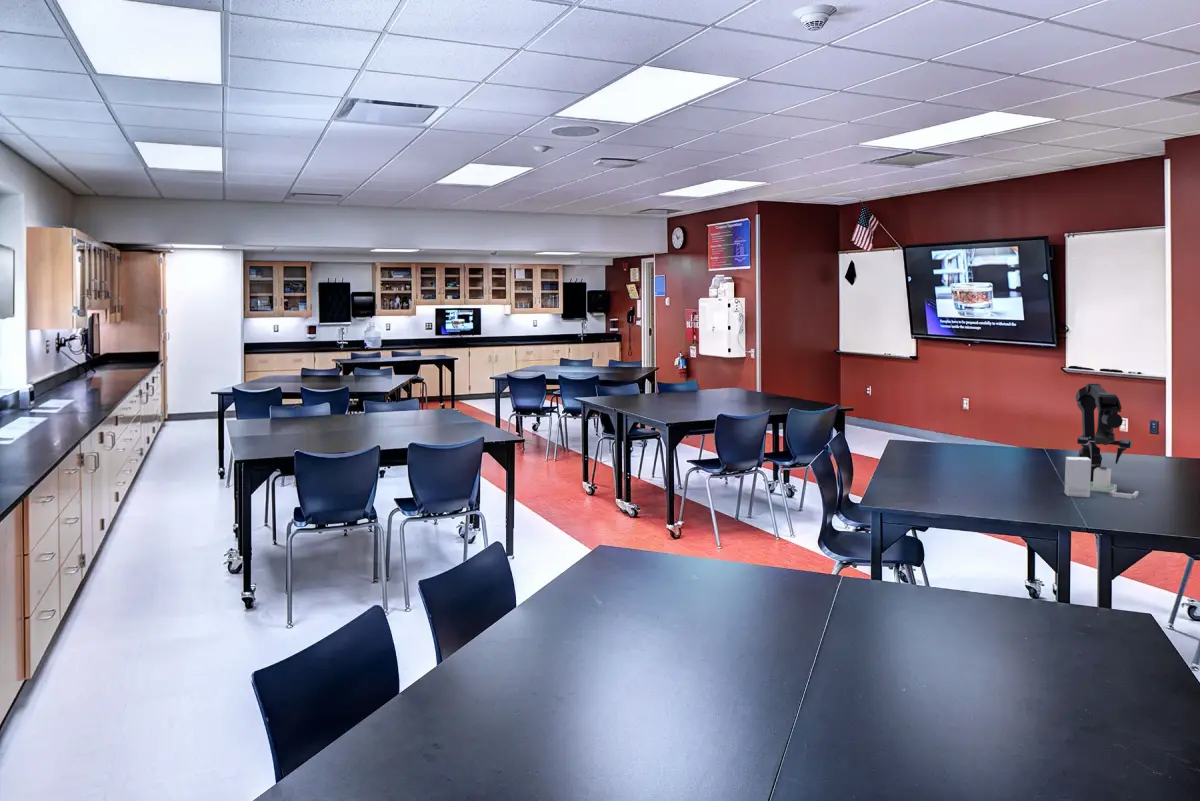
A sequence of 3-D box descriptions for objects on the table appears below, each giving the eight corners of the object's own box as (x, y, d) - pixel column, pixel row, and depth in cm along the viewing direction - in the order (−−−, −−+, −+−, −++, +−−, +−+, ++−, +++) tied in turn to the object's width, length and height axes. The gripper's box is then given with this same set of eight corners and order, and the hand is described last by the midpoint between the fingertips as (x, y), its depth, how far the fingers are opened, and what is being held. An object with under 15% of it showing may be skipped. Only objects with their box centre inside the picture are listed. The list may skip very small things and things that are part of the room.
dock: (1109, 497, 332) (1109, 492, 332) (1113, 493, 339) (1113, 488, 339) (1134, 500, 327) (1134, 495, 326) (1138, 496, 334) (1138, 491, 334)
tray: (1085, 491, 343) (1086, 486, 343) (1091, 486, 352) (1091, 481, 351) (1111, 494, 337) (1112, 489, 337) (1116, 489, 346) (1117, 484, 346)
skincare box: (1086, 495, 336) (1089, 457, 334) (1090, 499, 330) (1092, 459, 328) (1063, 494, 338) (1065, 455, 337) (1066, 497, 332) (1068, 458, 331)
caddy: (1092, 489, 343) (1093, 468, 342) (1096, 486, 349) (1097, 465, 348) (1106, 490, 340) (1108, 469, 339) (1109, 488, 345) (1111, 467, 345)
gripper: (1075, 424, 341) (1073, 462, 343) (1129, 428, 329) (1126, 468, 331) (1081, 422, 350) (1079, 459, 351) (1133, 426, 338) (1131, 464, 339)
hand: (1103, 462), depth 343 cm, fingers open, 9 cm apart
